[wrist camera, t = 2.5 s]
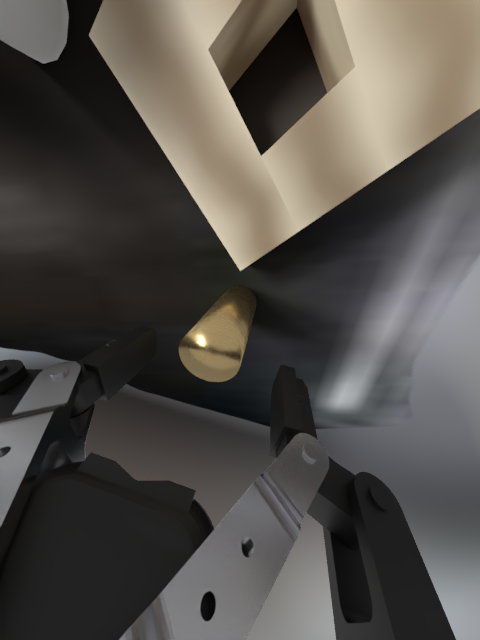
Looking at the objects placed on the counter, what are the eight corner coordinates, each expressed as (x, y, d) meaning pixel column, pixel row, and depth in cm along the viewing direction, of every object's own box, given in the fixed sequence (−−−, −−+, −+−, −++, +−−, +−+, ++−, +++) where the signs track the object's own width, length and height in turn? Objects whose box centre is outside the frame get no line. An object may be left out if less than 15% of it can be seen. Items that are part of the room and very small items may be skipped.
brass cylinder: (235, 323, 21) (205, 388, 12) (215, 296, 20) (166, 346, 11) (263, 308, 19) (253, 370, 10) (244, 278, 18) (213, 318, 9)
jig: (246, 265, 17) (240, 271, 14) (133, 83, 13) (88, 35, 10) (446, 127, 11) (513, 85, 8) (358, -312, 7) (429, -774, 4)
